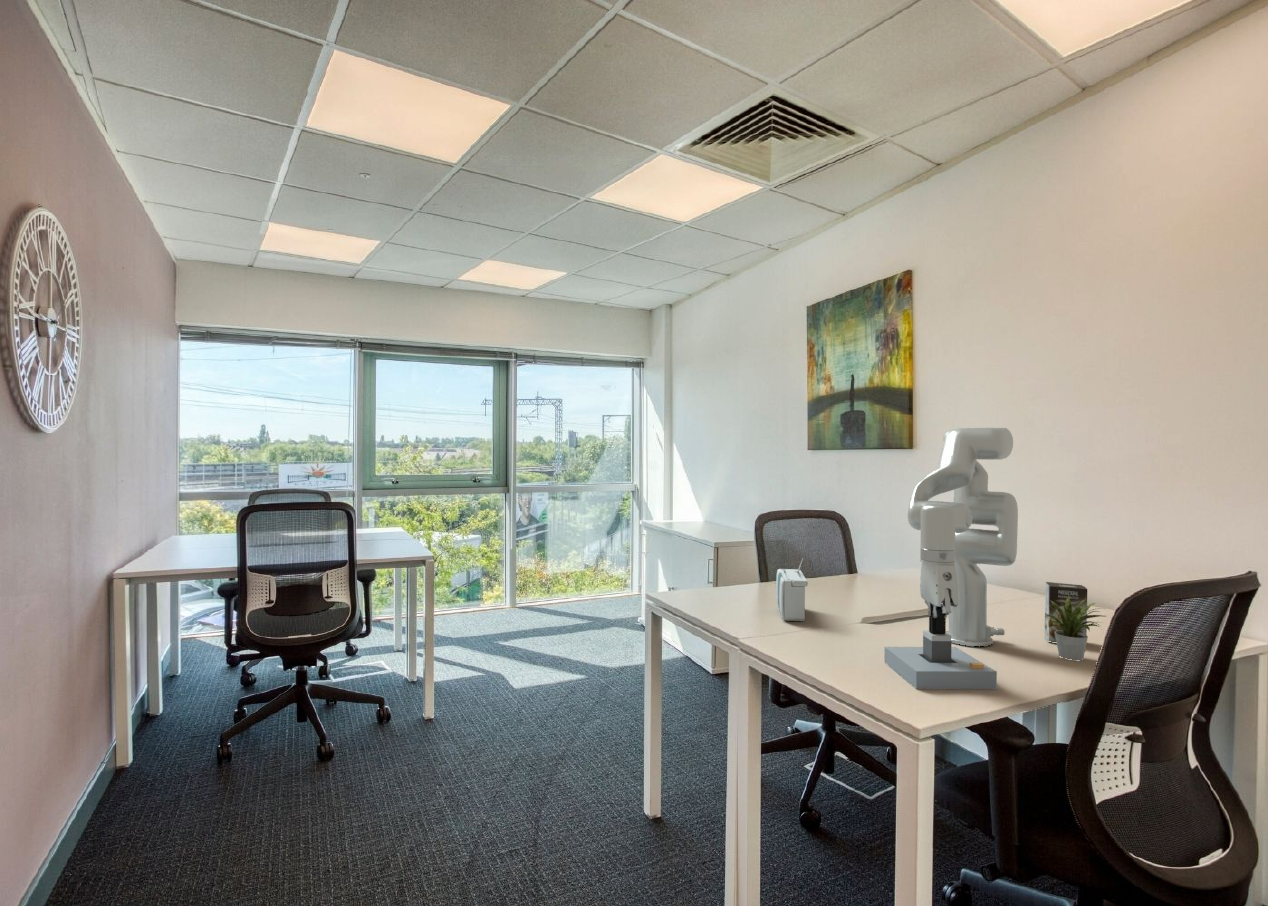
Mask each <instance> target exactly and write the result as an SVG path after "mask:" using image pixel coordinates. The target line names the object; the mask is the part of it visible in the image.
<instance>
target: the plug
mask: <svg viewBox="0 0 1268 906" xmlns="http://www.w3.org/2000/svg"><path fill="white" fill-rule="evenodd" d="M922 647H923V658H924V659H925V660H927V661H928V662H930V663H951V647H952V636H951V635H949V634H947V633H945V634H932V633H930V632H929V629H928V630H925V629H924V630H922Z"/></svg>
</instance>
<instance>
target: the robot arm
mask: <svg viewBox="0 0 1268 906" xmlns="http://www.w3.org/2000/svg"><path fill="white" fill-rule="evenodd" d="M1013 448H1014V438H1013V434H1012V432H1011V431H1010V430H1009V429H1008V428H1007V427H961V428H954V429H950V430H949V431H947V432H945V433H944V436H943V444H942V448H941V453H940V456H939V457H940V458H939V462H938V466H937V468H936V469H935V470H934V471H932V472H931V473H929V474H928V475H926V476H924V478H922V480H920V481H919V482H918V483H917V484H916V485H915V487H914V488H913V491H912V493H911V497H910V499H909V500H910V501H909V505H908V509H907V510H908V511H907V521H908V523H909V525H910V527H911V528H913V529H914V530H917V531H920V548H919V549H920V552H919V553H920V554H919V555H920V558H919V561H920V562H921V568H920V581H919V583H920V584H919V585H920V586H919V587H920V589H919V591H920V592H919V593H920V597H921V598H922V600H924V603H925V605H926V606H927V612H928V613H927V614H928V630H929V632H930V633H932V634H945V633H947V634H949V635H951V636H952V643H953V644H956V645H959V644H960V645H961V646H965V645H966V646H965V647H974V646H979V647H978V648H981V647H980V646H984V647H989V646H988V645H990V646H992V645H993V643H994V639H993V638H992V637H994V636H1005V633H1006V632H1005V629H1004V628H1002V627H999V628H998V627H994V626H989V625H988V623H987V622H988V620H987V619H988V617H987V615H988V614H987V613H988V609H987V607H988V606H987V605H988V602H987V601H988V596H987V594H988V593H987V592H988V589H987V588H988V581H987V577H986V576H985V574H984V572H983V570H981V569H980V567H979V566H978V565H991V566H1003V567H1007V566H1008V567H1009V566H1012V565H1013V564H1014V563H1015V562H1016V559H1017V552H1018V527H1019V526H1018V519H1019V512H1018V511H1019V508H1018V503H1017V499H1016V498H1015V496H1014V495H1013V494H1011V493H1010V492H1005V491H989V489H988V487H989V474H988V471H987V470H986V469H985V468H984V467H983V465H982V464H981V463H980V462H979V461H978V460H986V461H987V460H994V461H996V460H1003V459H1007V458H1008V457H1009V456H1010V455H1011V453H1012V451H1013ZM951 491H953V501H939V500H930V499H932V498H934V497H935V496H936V497H937V496H939V495H941V494H945V493H947V492H951ZM972 525H980V526H981V525H982V526H992V527H993V526H994V527H997V528H998V529H997V530H995V529H982V528H981V529H980V528H970V527H971V526H972ZM947 617H948V630H947V628H946V626H947V624H946V623H947V619H946V618H947ZM946 630H947V631H946ZM952 643H951V644H952ZM991 644H992V645H991Z"/></svg>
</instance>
